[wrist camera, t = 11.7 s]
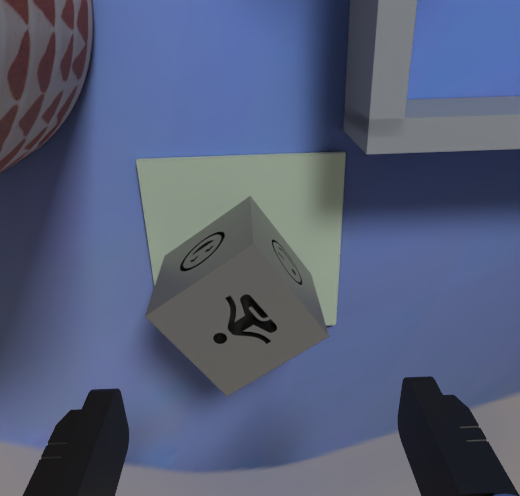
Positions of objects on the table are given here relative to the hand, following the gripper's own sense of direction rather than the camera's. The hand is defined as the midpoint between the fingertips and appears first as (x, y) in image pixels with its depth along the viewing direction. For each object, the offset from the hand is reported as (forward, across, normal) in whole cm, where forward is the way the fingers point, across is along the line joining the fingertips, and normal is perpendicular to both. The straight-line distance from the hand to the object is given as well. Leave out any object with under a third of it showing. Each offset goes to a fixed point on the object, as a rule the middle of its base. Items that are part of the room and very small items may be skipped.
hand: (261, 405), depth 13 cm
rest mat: (+10, 0, 0) cm, 10 cm away
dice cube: (+10, +1, +1) cm, 10 cm away
